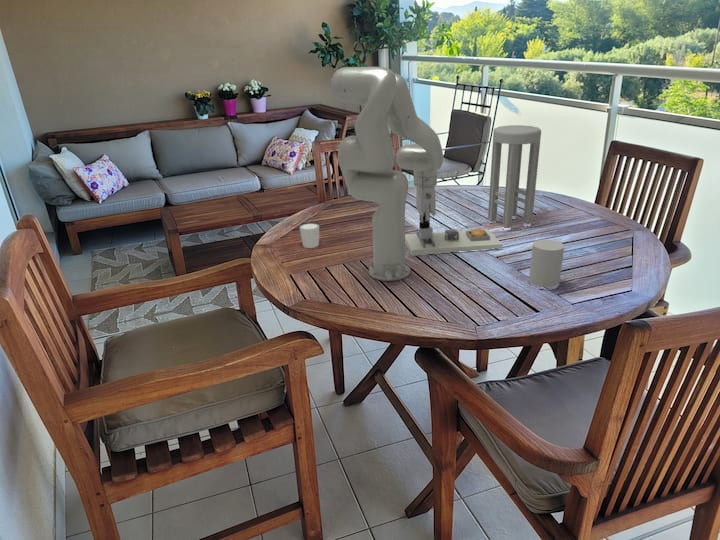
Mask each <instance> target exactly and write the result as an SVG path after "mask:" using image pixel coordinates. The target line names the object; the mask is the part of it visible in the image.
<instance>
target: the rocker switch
mask: <svg viewBox="0 0 720 540" xmlns="http://www.w3.org/2000/svg"><path fill="white" fill-rule="evenodd" d="M458 231H459V230H456V229H447V230H446V229H445V230H444V232H445V233H446V234H447V237H453V236H457V235H459V232H458Z"/></svg>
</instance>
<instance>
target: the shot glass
mask: <svg viewBox="0 0 720 540" xmlns="http://www.w3.org/2000/svg"><path fill="white" fill-rule="evenodd" d="M299 232H300V237H301V243H302V247H303V248H305V249H314V248H317V247H318V246H319V245H320V225H319V224H317V223H304V224H302V225H301V224H300V226H299Z"/></svg>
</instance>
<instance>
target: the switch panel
mask: <svg viewBox="0 0 720 540" xmlns="http://www.w3.org/2000/svg"><path fill="white" fill-rule="evenodd" d="M472 230H473V229H469V230H457V231H458V232H459V235H457V236H453V237H447V234H446V233H445V231H441V232H439V231H437V232H433V239H429V240H430V243H429V244H425V243H424V241H423V239H420V232H419V231H417V232H416V233H412V234H411V233H409V234H408V233H407V234H406V233H405V245H406V247H407V248H408V251H409V253H410V255H411V257H418V255H419V256H428V255H427V254H434V255H442V254H441V253H449V254H451V253H450V252H459V251H471V250H481V249H492V248H502V249H503V243H502V242H501V241H500V240H499V239H498V238H497V237H496V235H494V234H493V232H492V231H491V230H489V228H485V229H482V228H481V230H483V231H485V235H484V236H477V237H472V236H471V231H472Z"/></svg>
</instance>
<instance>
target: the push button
mask: <svg viewBox="0 0 720 540" xmlns="http://www.w3.org/2000/svg"><path fill="white" fill-rule="evenodd" d="M471 230H472V231H471V236H472V237H477V236H484V235H485V231H483V230H482V229H471Z"/></svg>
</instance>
